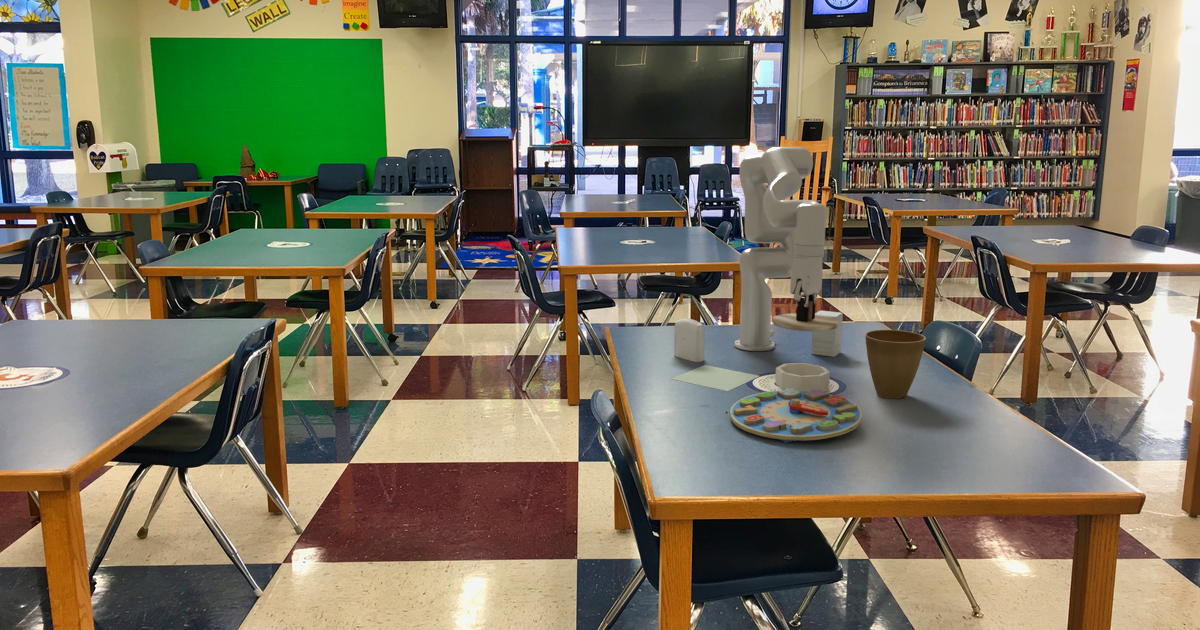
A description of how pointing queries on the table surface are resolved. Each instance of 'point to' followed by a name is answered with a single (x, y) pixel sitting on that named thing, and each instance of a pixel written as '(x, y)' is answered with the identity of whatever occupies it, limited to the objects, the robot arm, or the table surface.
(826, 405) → the shape sorting clock
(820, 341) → the supplement box
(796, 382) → the bowl
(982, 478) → the table surface
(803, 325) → the lid
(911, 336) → the plant pot
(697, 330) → the photo printer
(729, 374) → the mat
